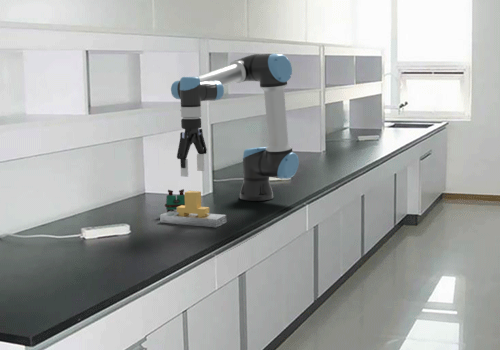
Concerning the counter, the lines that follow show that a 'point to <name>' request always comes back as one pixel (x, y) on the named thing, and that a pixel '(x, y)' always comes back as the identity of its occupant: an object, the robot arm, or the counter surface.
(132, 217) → the counter surface
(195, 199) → the yellow stepped block
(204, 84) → the robot arm
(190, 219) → the grey board with holes
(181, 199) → the binoculars
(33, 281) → the counter surface
